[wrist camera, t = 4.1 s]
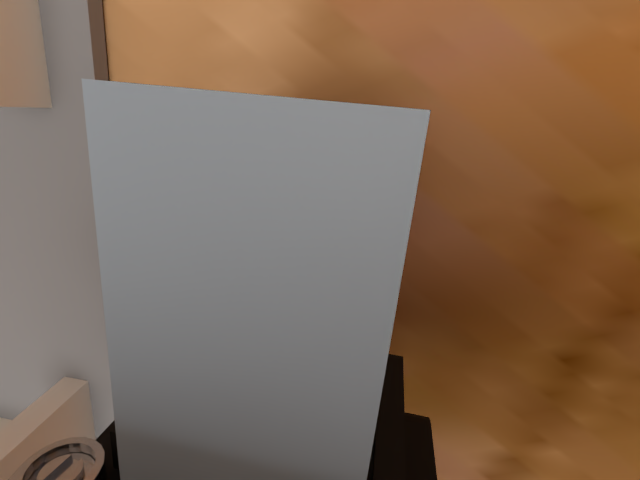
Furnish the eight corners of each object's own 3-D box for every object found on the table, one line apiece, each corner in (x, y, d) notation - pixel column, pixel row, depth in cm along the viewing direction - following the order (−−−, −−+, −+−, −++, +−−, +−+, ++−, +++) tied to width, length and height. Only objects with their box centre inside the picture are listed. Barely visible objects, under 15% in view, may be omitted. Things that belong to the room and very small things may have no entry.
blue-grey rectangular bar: (254, 102, 9) (81, 77, 4) (410, 117, 8) (430, 109, 3) (238, 537, 13) (148, 773, 8) (339, 565, 12) (305, 834, 8)
